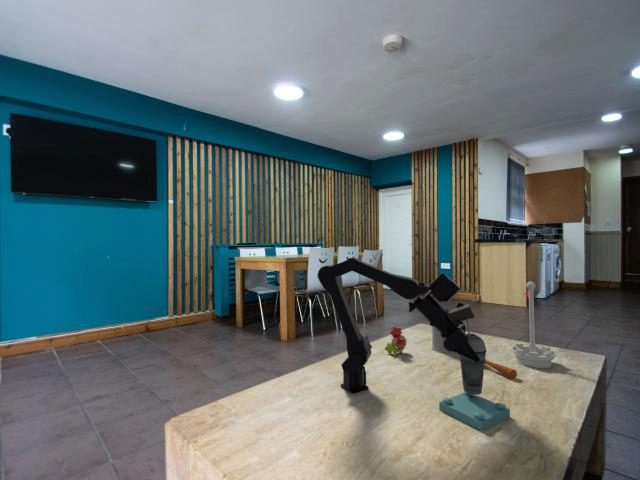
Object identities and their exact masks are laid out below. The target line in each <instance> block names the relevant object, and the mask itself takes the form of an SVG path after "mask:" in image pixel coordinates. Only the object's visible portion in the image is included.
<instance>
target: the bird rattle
mask: <svg viewBox="0 0 640 480" xmlns="http://www.w3.org/2000/svg"><path fill="white" fill-rule="evenodd" d="M389 334H390V335H391V336H392V339H391V340H390V341H391V342H387V344H386V346H385V347H384V350H385V351H386V352H387V353H388V354H389V353H390V354H393V356H397V355H398V356H399V353H401V352H402V353H403V351H404V350H405V348H407V347H406V346H407V343H408V342H407V338H406V337H405V336H404V334H403V331H402V328H401V327H395V326H392V330H390V331H389Z"/></svg>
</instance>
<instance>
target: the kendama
mask: <svg viewBox="0 0 640 480" xmlns="http://www.w3.org/2000/svg"><path fill="white" fill-rule="evenodd" d="M485 364H486V365H487V366H489V367H491V368H492V369H494V370H495V371H497V372H499V373H500V374H502V375H503V376H505V377H507V378H508V379H510V380H515V379H516V378H517V376H518V371H517V370H515V369H513V368H511V367H508V366H504V365H501V364H499V363H495V362H492V361H489V360H487V359H486V358H485V359H484V365H485Z"/></svg>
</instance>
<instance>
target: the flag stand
mask: <svg viewBox="0 0 640 480" xmlns="http://www.w3.org/2000/svg"><path fill="white" fill-rule="evenodd" d="M525 287H526V288H527V289H528V290H527V291H526V292H525V293H524V295H525V296H526V297H527V298H528V311H529V312H528V313H529V314H528V315H529V342H528V344H527V345H524V343H522V342H518V343H515V344H513V345H512V353H513V355H514V356H515V361H516V362H517V363H518V364H521V365H523V366H525V367H526V366H527V367H530V368H537V369H546V368H551V367H552V361H553V360H554V359H555V358H556V357H555V349H551V347H549V346H547V345H542V346H541V347H537V344H536V336H535V335H536V332H535V302H534V301H535V298H534V296H535V295H534V290H535V289H536V283H535V282H534V281H528V282H526V285H525Z"/></svg>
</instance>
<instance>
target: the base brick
mask: <svg viewBox="0 0 640 480" xmlns="http://www.w3.org/2000/svg"><path fill="white" fill-rule="evenodd" d="M438 403H439V406H438V407H439V409H438V410H440V411H441V412H444V414H445V413H446V414H448V415H449V416H452V417H453V418H455V419H457V420H459V421H461V422H463V423H465V424H467V425H469V426H471V427H473V428H474V429H477V430H479V431H480V432H482V431H484V430H486V429H488V428H490V427H492V426H495V425H497V424H499V423H501V422H503V421H505V420H507V419H509V418H510V417H511V408H509V407H507V406H506V404H504V403H503V402H494V401H491V400H490V399H487V398H485V397H483V396H480V395H479V394H478V395H474V394H469V393H467V392H465V391H463V392H462V393H459V394H456V395H454V396H451V397H443V399H442V400H441V401H439V402H438Z"/></svg>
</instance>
